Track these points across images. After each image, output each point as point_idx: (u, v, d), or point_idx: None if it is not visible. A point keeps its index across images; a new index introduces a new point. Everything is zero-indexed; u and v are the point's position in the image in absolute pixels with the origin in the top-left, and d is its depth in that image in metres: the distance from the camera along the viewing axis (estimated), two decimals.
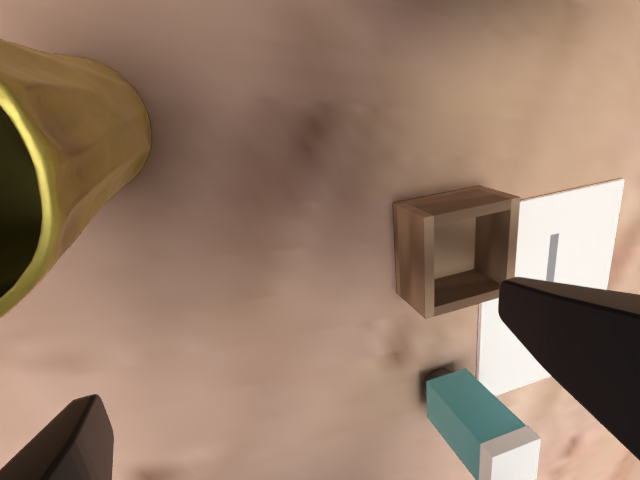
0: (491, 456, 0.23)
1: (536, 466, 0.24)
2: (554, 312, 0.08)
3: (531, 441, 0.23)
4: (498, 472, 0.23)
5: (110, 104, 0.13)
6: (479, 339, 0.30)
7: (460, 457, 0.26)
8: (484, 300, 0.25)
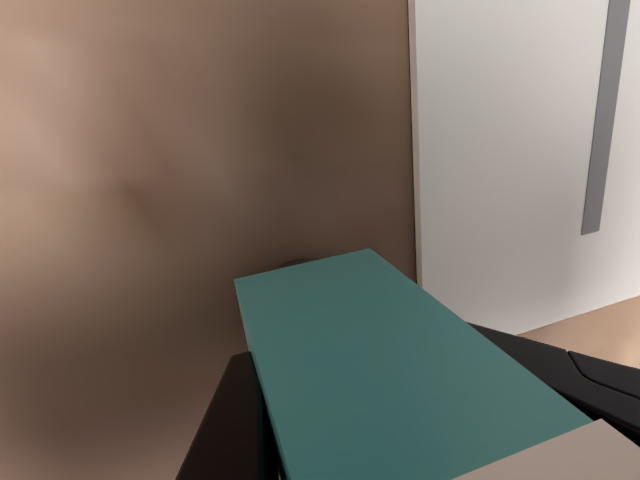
0: None
1: None
2: None
3: None
4: None
5: None
6: (417, 175, 0.10)
7: None
8: None
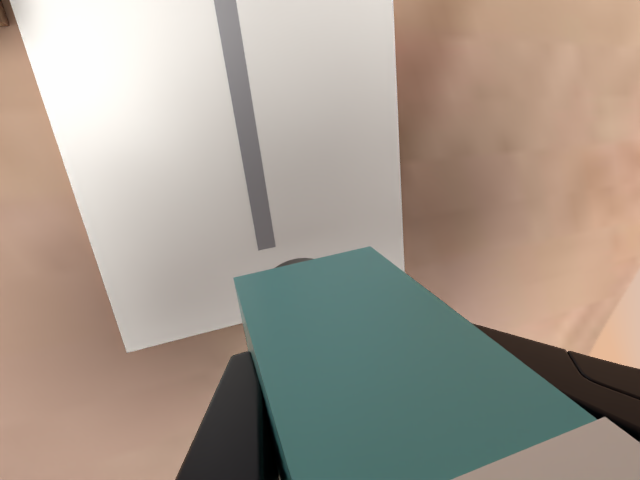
0: None
1: None
2: None
3: None
4: None
5: None
6: (79, 206, 0.14)
7: None
8: None
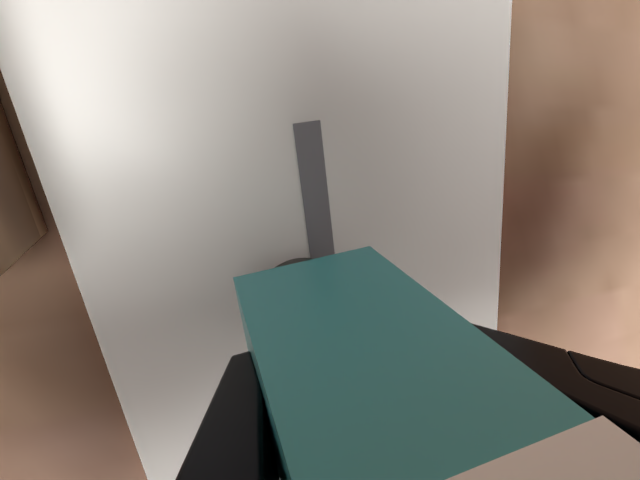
0: None
1: None
2: None
3: None
4: None
5: None
6: (128, 421, 0.11)
7: None
8: None
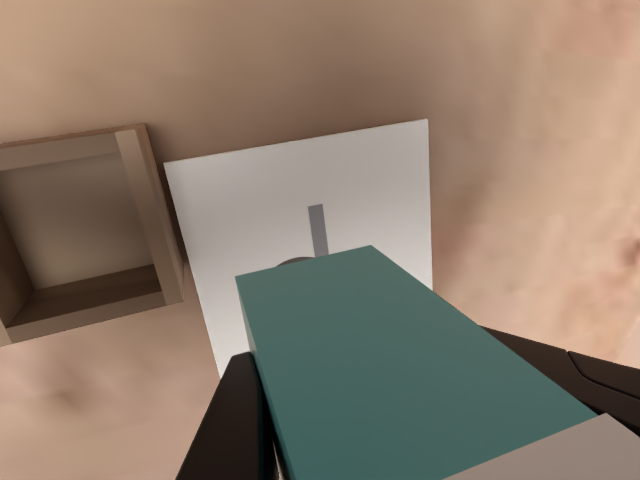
0: None
1: None
2: None
3: None
4: None
5: None
6: (217, 367, 0.20)
7: None
8: (121, 313, 0.14)
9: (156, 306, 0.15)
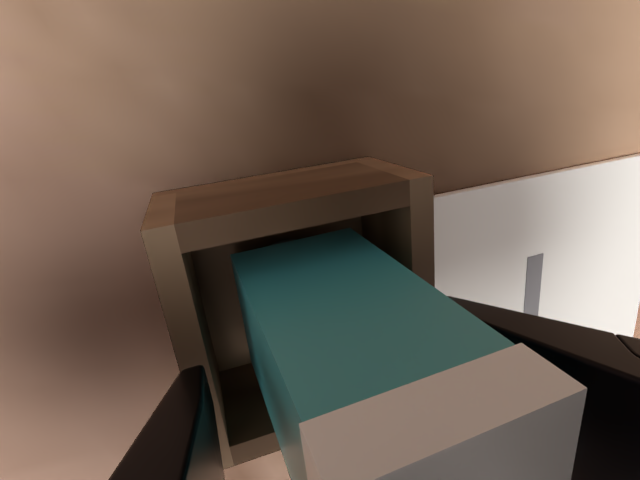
0: None
1: None
2: None
3: (543, 405, 0.05)
4: None
5: None
6: None
7: (291, 476, 0.08)
8: None
9: None
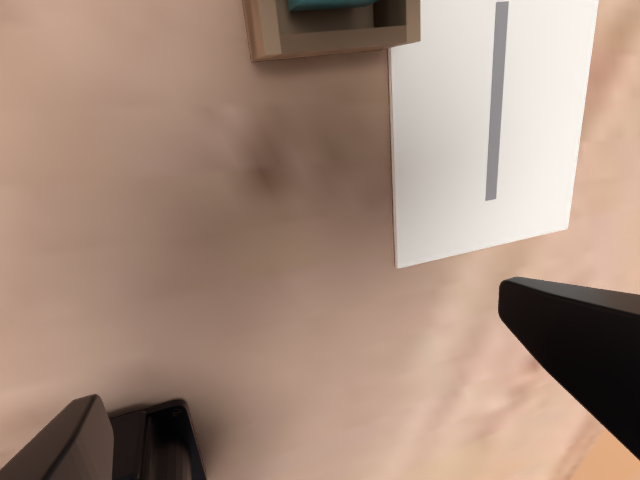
0: None
1: None
2: (554, 312, 0.08)
3: None
4: None
5: None
6: (393, 166, 0.21)
7: None
8: (370, 41, 0.15)
9: (398, 41, 0.16)
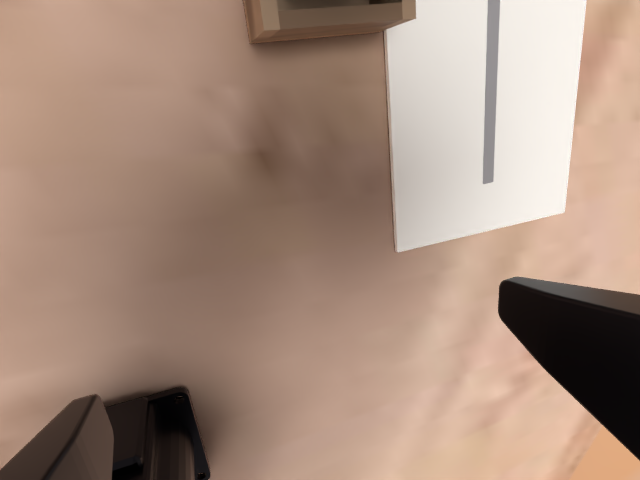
0: None
1: None
2: (554, 312, 0.08)
3: None
4: None
5: None
6: (391, 148, 0.21)
7: None
8: (367, 18, 0.16)
9: (394, 18, 0.16)
